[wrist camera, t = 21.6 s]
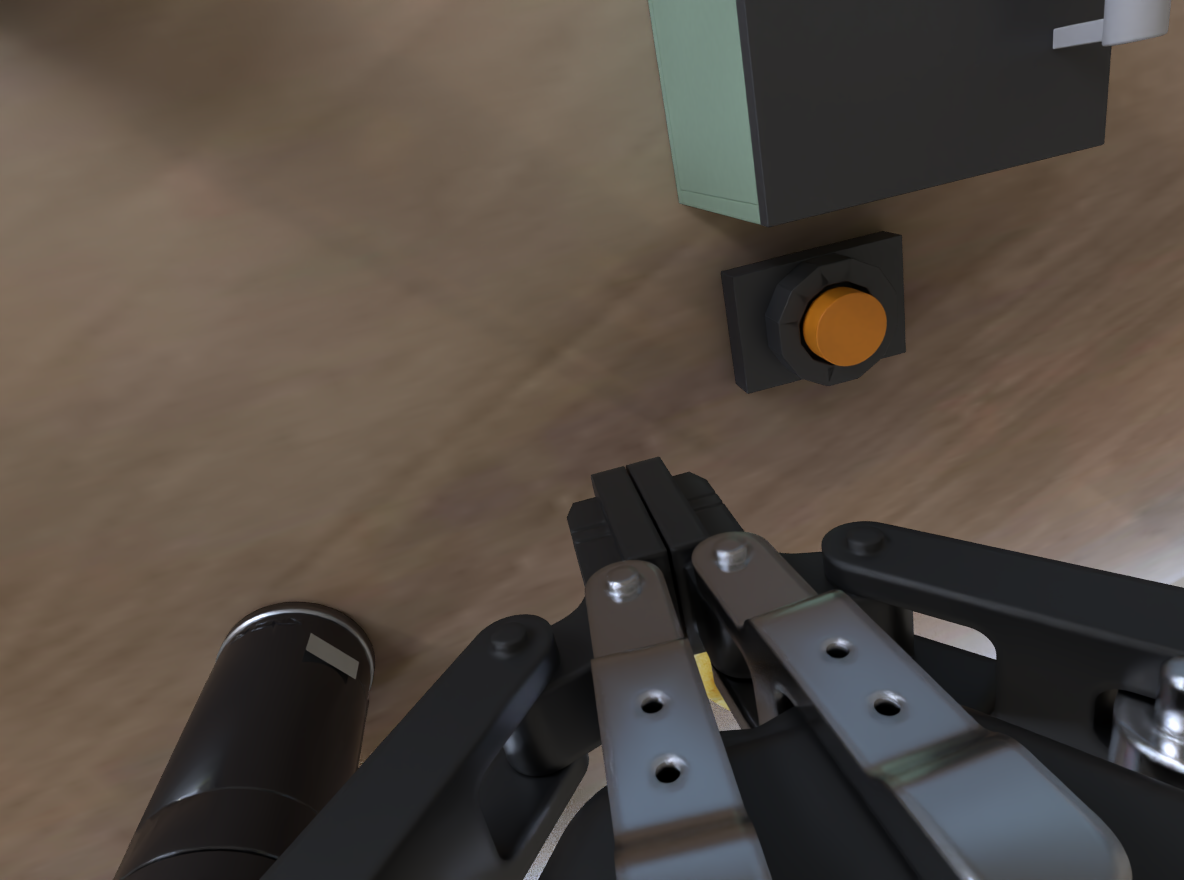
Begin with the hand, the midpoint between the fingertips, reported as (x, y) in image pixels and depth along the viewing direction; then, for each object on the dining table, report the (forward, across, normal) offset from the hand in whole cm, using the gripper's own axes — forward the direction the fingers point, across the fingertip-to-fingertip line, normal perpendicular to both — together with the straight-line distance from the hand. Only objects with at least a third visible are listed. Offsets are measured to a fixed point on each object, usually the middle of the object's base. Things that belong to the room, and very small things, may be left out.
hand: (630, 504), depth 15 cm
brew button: (+23, -16, +6) cm, 29 cm away
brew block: (+27, -16, +6) cm, 32 cm away
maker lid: (+15, -16, -8) cm, 24 cm away
